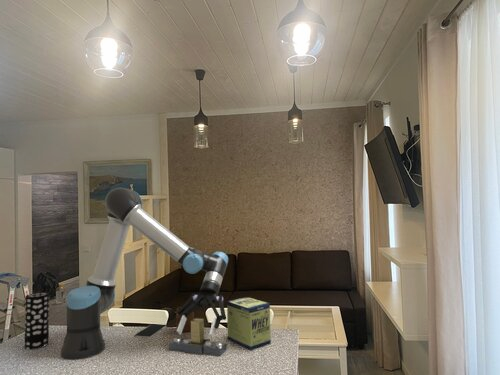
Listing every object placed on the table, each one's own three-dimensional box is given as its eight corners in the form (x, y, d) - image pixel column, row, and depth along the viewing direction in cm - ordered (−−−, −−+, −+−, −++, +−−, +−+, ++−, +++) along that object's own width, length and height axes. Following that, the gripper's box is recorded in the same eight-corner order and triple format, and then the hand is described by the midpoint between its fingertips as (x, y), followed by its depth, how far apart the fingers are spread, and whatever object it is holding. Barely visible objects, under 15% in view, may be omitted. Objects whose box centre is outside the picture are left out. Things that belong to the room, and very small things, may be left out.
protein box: (251, 351, 129) (250, 308, 130) (226, 339, 141) (226, 300, 142) (271, 343, 136) (270, 303, 137) (246, 333, 148) (246, 296, 149)
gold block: (191, 351, 130) (190, 321, 131) (195, 347, 134) (195, 318, 134) (199, 352, 129) (199, 321, 130) (204, 348, 132) (203, 319, 133)
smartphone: (133, 335, 147) (151, 323, 162) (133, 338, 147) (151, 326, 162) (150, 336, 145) (167, 324, 160) (150, 339, 145) (167, 327, 160)
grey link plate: (168, 350, 131) (168, 341, 131) (178, 343, 138) (178, 335, 138) (219, 356, 124) (219, 347, 125) (227, 349, 131) (227, 340, 131)
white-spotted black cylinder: (19, 348, 137) (20, 297, 139) (36, 340, 145) (37, 292, 147) (36, 349, 135) (37, 297, 137) (53, 342, 143) (54, 292, 145)
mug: (185, 336, 146) (185, 313, 146) (169, 335, 148) (168, 313, 148) (196, 327, 157) (196, 306, 158) (181, 326, 159) (180, 305, 160)
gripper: (241, 291, 143) (228, 342, 128) (188, 289, 151) (169, 336, 136) (236, 281, 138) (222, 332, 123) (181, 278, 146) (161, 326, 131)
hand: (194, 334), depth 129 cm, fingers open, 13 cm apart
